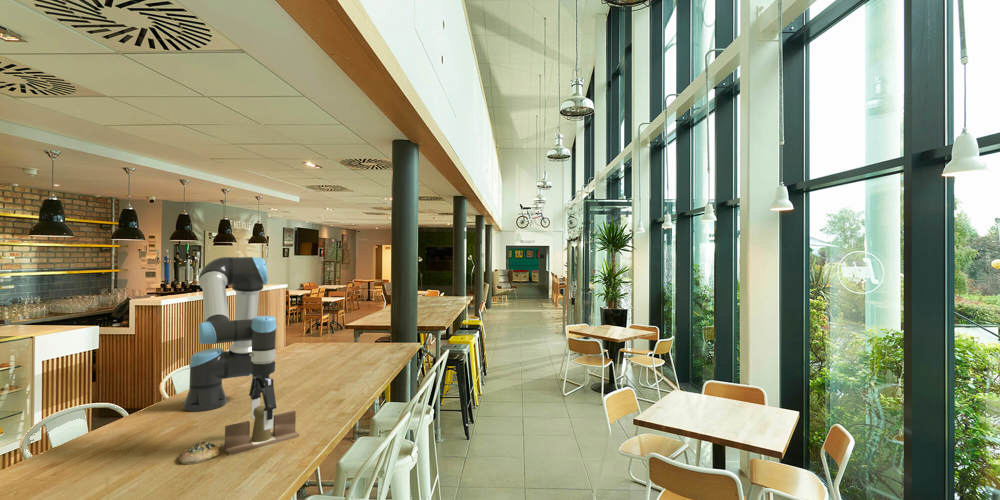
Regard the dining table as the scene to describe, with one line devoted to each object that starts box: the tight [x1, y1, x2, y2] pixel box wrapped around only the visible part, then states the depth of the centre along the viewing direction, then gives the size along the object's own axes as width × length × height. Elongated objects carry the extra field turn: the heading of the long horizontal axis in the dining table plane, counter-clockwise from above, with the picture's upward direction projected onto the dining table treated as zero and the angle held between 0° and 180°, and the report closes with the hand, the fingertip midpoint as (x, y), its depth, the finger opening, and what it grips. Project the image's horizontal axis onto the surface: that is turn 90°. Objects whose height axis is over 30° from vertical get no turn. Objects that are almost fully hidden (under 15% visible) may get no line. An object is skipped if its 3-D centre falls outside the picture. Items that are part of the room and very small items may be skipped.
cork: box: [251, 405, 272, 442], centre depth 156 cm, size 6×6×11 cm
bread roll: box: [178, 440, 221, 466], centre depth 143 cm, size 11×11×5 cm
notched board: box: [221, 410, 300, 456], centre depth 155 cm, size 9×22×8 cm, turn 135°
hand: (261, 423), depth 156 cm, fingers open, 13 cm apart
